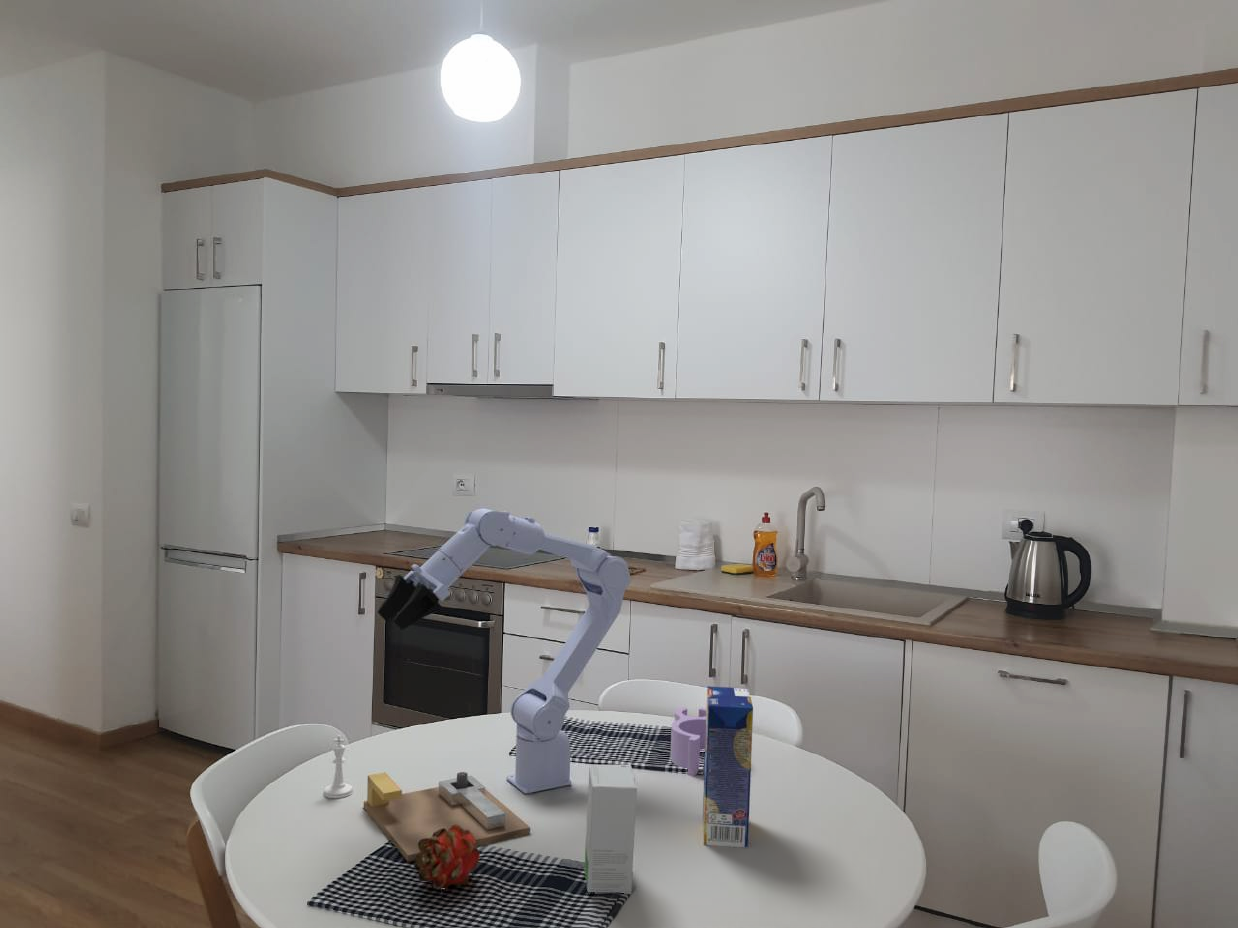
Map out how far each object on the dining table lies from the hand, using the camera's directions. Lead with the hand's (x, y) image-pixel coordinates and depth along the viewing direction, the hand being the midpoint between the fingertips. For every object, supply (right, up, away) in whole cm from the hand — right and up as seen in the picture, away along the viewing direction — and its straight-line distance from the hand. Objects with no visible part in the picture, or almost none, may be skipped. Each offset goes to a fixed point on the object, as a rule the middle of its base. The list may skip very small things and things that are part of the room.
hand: (389, 620), depth 150 cm
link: (+14, -31, +2) cm, 34 cm away
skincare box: (+36, -34, -19) cm, 53 cm away
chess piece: (-11, -32, +9) cm, 35 cm away
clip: (+54, -33, +32) cm, 71 cm away
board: (+9, -32, 0) cm, 34 cm away
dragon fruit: (+13, -34, -20) cm, 41 cm away
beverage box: (+55, -34, -1) cm, 64 cm away
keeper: (-1, -31, +1) cm, 31 cm away
